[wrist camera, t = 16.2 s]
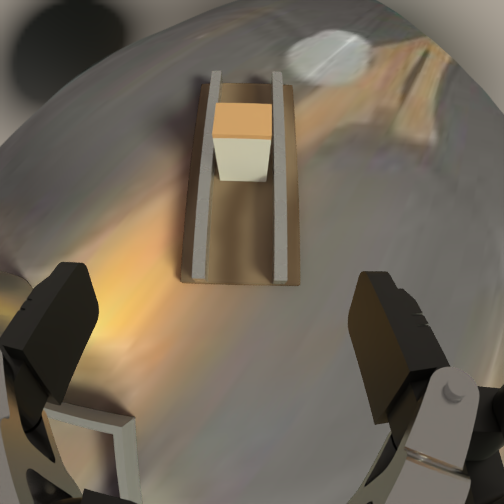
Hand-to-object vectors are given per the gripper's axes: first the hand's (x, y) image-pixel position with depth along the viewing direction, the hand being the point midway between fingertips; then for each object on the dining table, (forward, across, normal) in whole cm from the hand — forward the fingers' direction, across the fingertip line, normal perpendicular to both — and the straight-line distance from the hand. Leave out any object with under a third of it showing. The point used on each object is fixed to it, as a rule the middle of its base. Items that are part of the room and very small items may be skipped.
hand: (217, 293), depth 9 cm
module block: (+27, 0, +4) cm, 28 cm away
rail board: (+28, 0, +5) cm, 29 cm away
